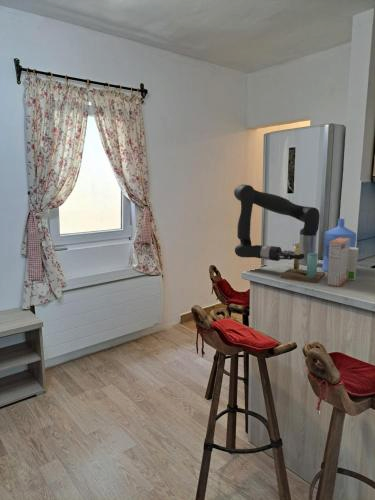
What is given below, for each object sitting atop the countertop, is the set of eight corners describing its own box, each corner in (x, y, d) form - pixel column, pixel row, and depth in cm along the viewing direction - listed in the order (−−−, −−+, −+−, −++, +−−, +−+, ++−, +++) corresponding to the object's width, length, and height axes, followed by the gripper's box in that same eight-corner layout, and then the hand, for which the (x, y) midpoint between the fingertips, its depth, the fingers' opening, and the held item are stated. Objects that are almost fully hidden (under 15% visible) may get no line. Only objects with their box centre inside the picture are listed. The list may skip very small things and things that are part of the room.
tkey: (297, 269, 188) (299, 242, 186) (313, 273, 180) (314, 245, 177) (290, 270, 186) (292, 243, 184) (305, 274, 177) (307, 246, 175)
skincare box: (336, 278, 179) (339, 247, 176) (338, 275, 185) (340, 245, 182) (355, 280, 176) (358, 249, 173) (356, 277, 181) (358, 247, 178)
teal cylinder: (307, 275, 178) (309, 252, 176) (317, 276, 176) (318, 253, 174) (305, 277, 174) (306, 254, 172) (314, 278, 172) (316, 255, 170)
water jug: (347, 267, 202) (351, 217, 197) (357, 274, 187) (362, 220, 182) (319, 267, 204) (322, 217, 199) (326, 273, 189) (330, 220, 184)
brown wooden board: (289, 271, 194) (290, 268, 193) (324, 276, 184) (324, 272, 183) (280, 278, 181) (280, 273, 181) (317, 283, 171) (317, 278, 171)
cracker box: (335, 278, 180) (338, 237, 176) (348, 280, 176) (351, 238, 172) (326, 284, 169) (329, 240, 165) (339, 287, 165) (342, 242, 161)
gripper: (265, 248, 187) (299, 251, 177) (276, 244, 198) (307, 247, 188) (265, 262, 188) (298, 266, 178) (275, 257, 199) (307, 261, 189)
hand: (302, 256), depth 183 cm, fingers closed on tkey, 2 cm apart
